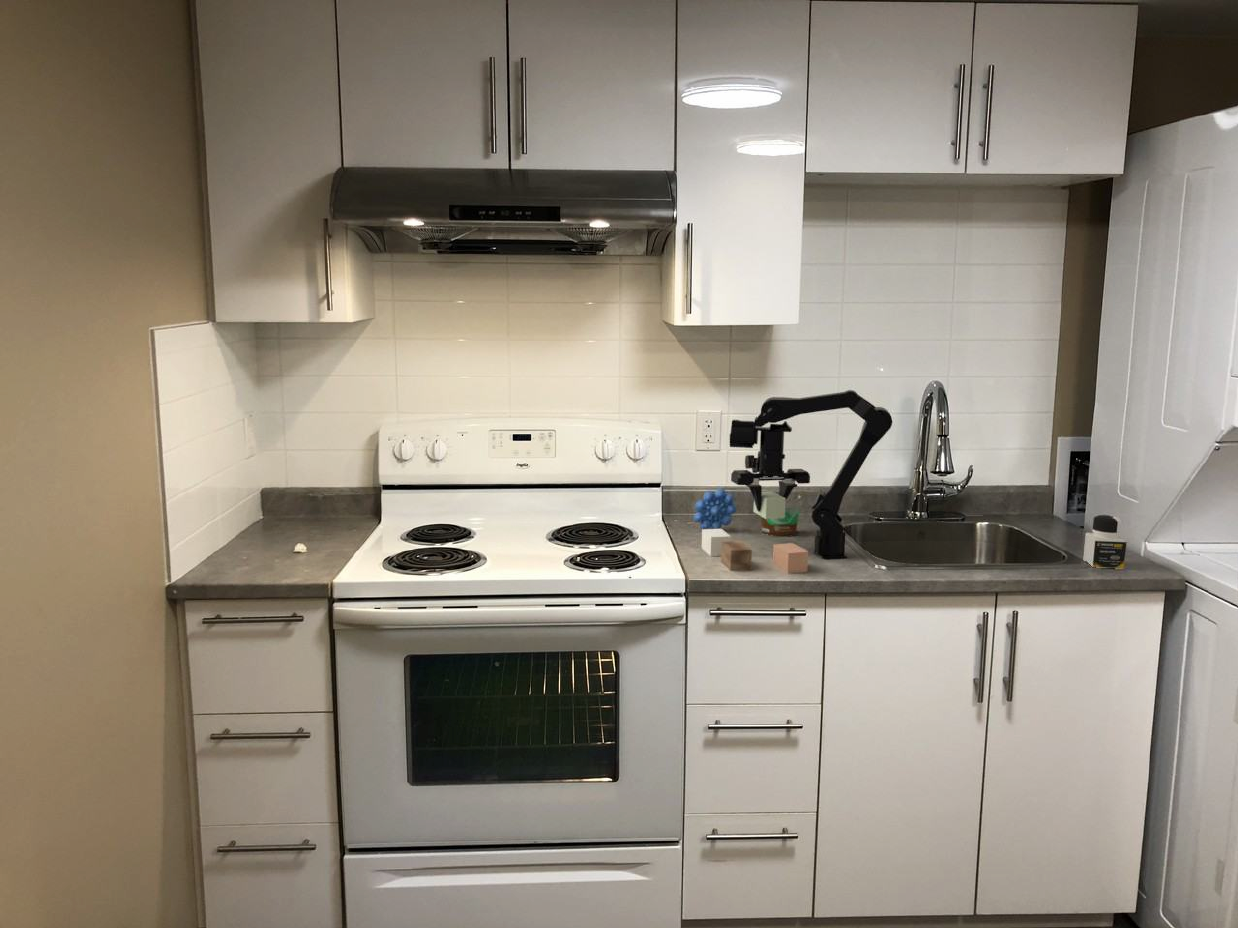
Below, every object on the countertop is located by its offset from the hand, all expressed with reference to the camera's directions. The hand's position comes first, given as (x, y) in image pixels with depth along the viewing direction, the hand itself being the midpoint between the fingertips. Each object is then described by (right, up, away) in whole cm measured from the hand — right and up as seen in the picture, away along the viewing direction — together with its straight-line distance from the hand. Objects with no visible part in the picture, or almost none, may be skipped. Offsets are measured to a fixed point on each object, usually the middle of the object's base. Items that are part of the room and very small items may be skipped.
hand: (769, 510), depth 244 cm
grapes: (-11, -7, +23) cm, 26 cm away
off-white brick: (-13, -10, +1) cm, 17 cm away
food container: (+7, -8, +19) cm, 22 cm away
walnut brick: (-10, -13, -11) cm, 19 cm away
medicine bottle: (+79, -13, -7) cm, 81 cm away
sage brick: (0, -1, 0) cm, 1 cm away
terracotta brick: (+3, -13, -13) cm, 18 cm away
